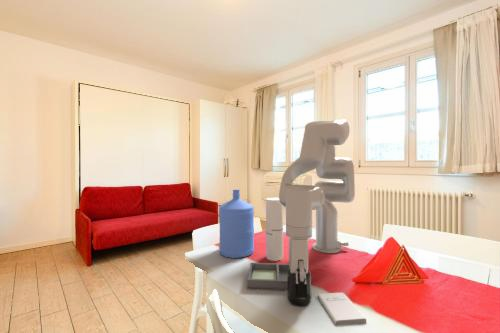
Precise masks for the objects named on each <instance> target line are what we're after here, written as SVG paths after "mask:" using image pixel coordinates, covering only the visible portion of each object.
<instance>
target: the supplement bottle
mask: <svg viewBox="0 0 500 333" xmlns="http://www.w3.org/2000/svg"><path fill="white" fill-rule="evenodd" d="M297 271H299V270H297ZM298 277H300V276H299V275H298ZM295 282H296V274H295V273H293V274H292V273H291V272H290V268H289V269H288V271H287V293H286V294H287V301H288V302H289V304H291V305H293V306H295V307H305V306H308V305H309V304H311V301H312V285H311V284H312V273H311V271H310V269H309V268H308V273H307V274H306V283H307V297H306V298H300V297H295Z"/></svg>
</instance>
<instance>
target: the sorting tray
mask: <svg viewBox="0 0 500 333" xmlns="http://www.w3.org/2000/svg"><path fill="white" fill-rule="evenodd" d="M289 268H290V267H289V263H273V262H271V263H269V262H250V264H249V268H248V273H247V279H246V285H247V286H246V289H249V290H262V291H263V290H266V291H267V290H269V291H287V271H288V269H289Z"/></svg>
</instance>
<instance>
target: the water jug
mask: <svg viewBox="0 0 500 333" xmlns="http://www.w3.org/2000/svg"><path fill="white" fill-rule="evenodd" d="M240 195H241V194H240V189H233V190H232V199H230V200H228V201H227V202H223V204H221V205H220V206H219V210H218V218H219V219H218V220H219V221H218V222H219V246H218V250H219V254H220V255H221V256H223V257H226V258H229V259H241V258H246V257H249V256H251V255H252V254H253V253H254V251H255V245H254V244H255V243H254V242H255V240H254V239H255V238H254V235H255V225H254V221H255V220H254V214H255V212H254V211H255V210H254V205H253V204H251V203H249V202H247V201H245V200H243V199H241V197H240Z"/></svg>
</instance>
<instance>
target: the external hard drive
mask: <svg viewBox="0 0 500 333" xmlns="http://www.w3.org/2000/svg"><path fill="white" fill-rule="evenodd" d="M317 298H318V300H319V301H320V303H321V304H322V306H323V307H324V309H325V310H326V312H327V314H328V315H329V317H330V318H331V320H332V321H333V323H334V324H335V325H345V323H348V324H356V323H357V324H360V323H367V318H366V317H365V316H364V314H363V313H362V312H361V311H360V310H359V309H358V307H356V305H355V304H354V303H353V302H352V301H351V300H350V298H348V296H347V295H346V294H345V292H330V293H329V292H328V293H326V292H325V293H318V294H317Z"/></svg>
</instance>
